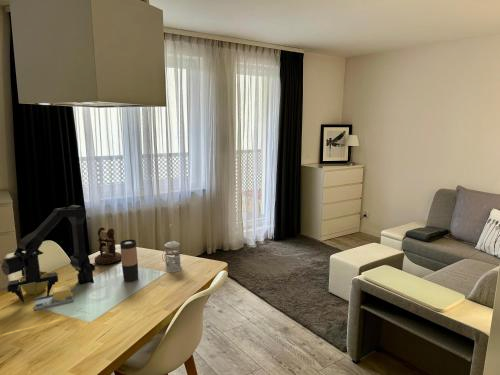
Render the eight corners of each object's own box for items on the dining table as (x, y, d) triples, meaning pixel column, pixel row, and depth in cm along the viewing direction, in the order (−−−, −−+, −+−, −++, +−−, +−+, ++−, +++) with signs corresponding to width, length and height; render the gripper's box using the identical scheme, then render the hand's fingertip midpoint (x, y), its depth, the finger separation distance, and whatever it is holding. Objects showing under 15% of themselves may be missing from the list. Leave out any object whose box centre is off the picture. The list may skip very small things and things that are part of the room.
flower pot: (37, 298, 159) (34, 279, 158) (20, 296, 161) (18, 278, 159) (51, 289, 168) (49, 271, 166) (36, 287, 169) (33, 270, 168)
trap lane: (72, 292, 164) (72, 289, 164) (74, 302, 155) (73, 299, 154) (35, 300, 157) (34, 297, 156) (34, 312, 147) (34, 309, 147)
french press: (186, 267, 191) (184, 223, 187) (171, 274, 182) (168, 229, 177) (173, 263, 197) (170, 221, 192) (157, 270, 187) (154, 226, 182)
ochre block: (70, 292, 163) (69, 284, 162) (71, 297, 158) (70, 289, 158) (53, 296, 159) (52, 288, 158) (54, 301, 155) (53, 292, 154)
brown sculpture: (127, 258, 206) (124, 225, 202) (109, 267, 192) (106, 233, 189) (107, 255, 211) (104, 223, 207) (88, 264, 197) (85, 230, 194)
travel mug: (119, 281, 175) (116, 243, 172) (130, 275, 182) (127, 238, 179) (131, 283, 172) (128, 245, 169) (142, 277, 179) (139, 240, 176)
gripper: (55, 256, 162) (59, 287, 165) (7, 264, 153) (11, 297, 155) (56, 264, 153) (60, 297, 155) (4, 273, 143) (9, 308, 146)
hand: (35, 299), depth 153 cm, fingers open, 9 cm apart
